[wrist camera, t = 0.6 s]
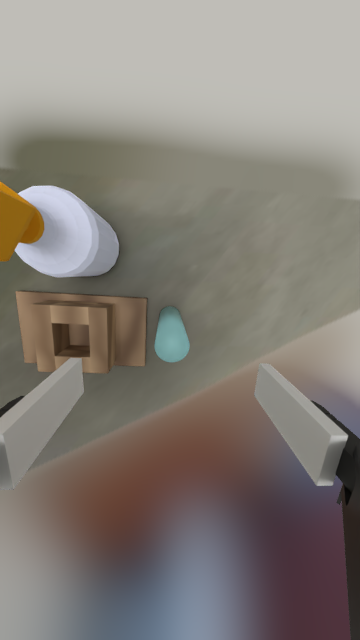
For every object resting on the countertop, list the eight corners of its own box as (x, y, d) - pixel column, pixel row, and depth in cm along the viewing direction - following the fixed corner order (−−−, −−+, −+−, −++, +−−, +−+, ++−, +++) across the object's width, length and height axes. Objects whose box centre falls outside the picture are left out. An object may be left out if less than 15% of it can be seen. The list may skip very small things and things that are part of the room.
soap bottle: (78, 200, 28) (-397, -193, 4) (131, 240, 30) (-6, 116, 6) (48, 251, 30) (-439, 163, 6) (100, 287, 31) (-109, 331, 8)
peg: (159, 325, 34) (153, 361, 20) (159, 305, 33) (155, 328, 19) (179, 326, 34) (188, 362, 20) (180, 306, 33) (190, 330, 19)
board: (29, 359, 33) (2, 376, 28) (21, 290, 31) (-11, 294, 25) (145, 363, 35) (141, 380, 30) (147, 298, 32) (143, 303, 27)
